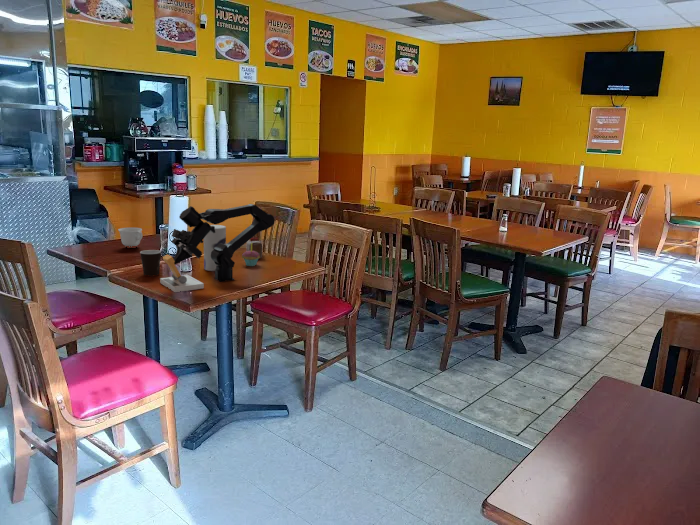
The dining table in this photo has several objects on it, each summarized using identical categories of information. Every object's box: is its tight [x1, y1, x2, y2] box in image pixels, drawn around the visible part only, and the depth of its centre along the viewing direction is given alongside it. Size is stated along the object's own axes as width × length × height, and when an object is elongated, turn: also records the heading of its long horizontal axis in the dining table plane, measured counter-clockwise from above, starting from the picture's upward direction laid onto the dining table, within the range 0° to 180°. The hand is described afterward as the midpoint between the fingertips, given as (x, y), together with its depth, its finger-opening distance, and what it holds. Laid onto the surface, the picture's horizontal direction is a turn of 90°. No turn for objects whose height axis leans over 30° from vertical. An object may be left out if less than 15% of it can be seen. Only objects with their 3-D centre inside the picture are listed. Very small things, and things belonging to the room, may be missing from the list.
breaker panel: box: [159, 273, 205, 293], centre depth 228 cm, size 12×16×5 cm
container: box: [203, 224, 227, 272], centre depth 256 cm, size 10×10×20 cm
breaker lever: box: [161, 254, 182, 280], centre depth 225 cm, size 2×5×11 cm, turn 38°
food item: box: [245, 236, 263, 259], centre depth 288 cm, size 14×8×10 cm, turn 20°
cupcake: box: [241, 242, 261, 267], centre depth 267 cm, size 9×8×12 cm
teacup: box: [117, 226, 144, 247], centre depth 293 cm, size 12×15×10 cm
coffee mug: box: [139, 249, 162, 277], centre depth 245 cm, size 12×9×10 cm
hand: (173, 263), depth 224 cm, fingers closed, pressing on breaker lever
